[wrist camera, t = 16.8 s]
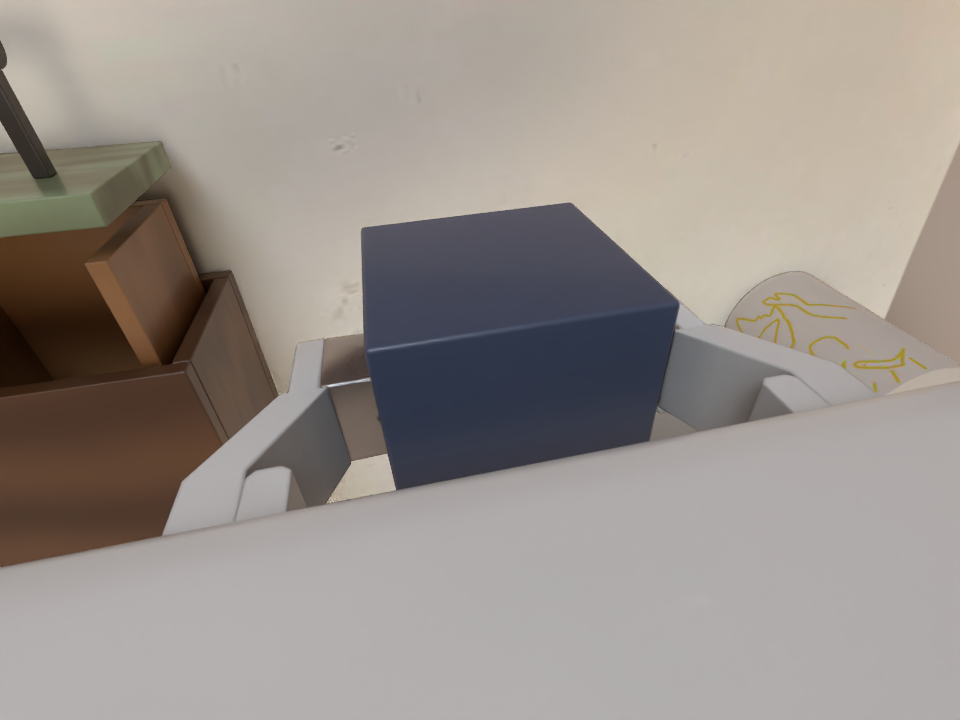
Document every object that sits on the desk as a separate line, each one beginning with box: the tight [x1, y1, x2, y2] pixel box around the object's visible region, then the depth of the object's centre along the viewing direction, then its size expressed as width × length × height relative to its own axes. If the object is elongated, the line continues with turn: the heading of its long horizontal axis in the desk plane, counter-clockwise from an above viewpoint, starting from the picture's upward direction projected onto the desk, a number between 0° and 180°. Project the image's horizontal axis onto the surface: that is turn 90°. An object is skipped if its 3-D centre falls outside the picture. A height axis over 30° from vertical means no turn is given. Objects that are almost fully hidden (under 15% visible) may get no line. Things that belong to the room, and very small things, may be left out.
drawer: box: [0, 41, 206, 388], centre depth 22 cm, size 18×11×8 cm, turn 2°
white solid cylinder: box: [725, 271, 960, 396], centre depth 34 cm, size 8×8×12 cm
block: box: [361, 203, 680, 490], centre depth 10 cm, size 4×4×4 cm
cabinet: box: [0, 271, 278, 567], centre depth 28 cm, size 15×13×10 cm
